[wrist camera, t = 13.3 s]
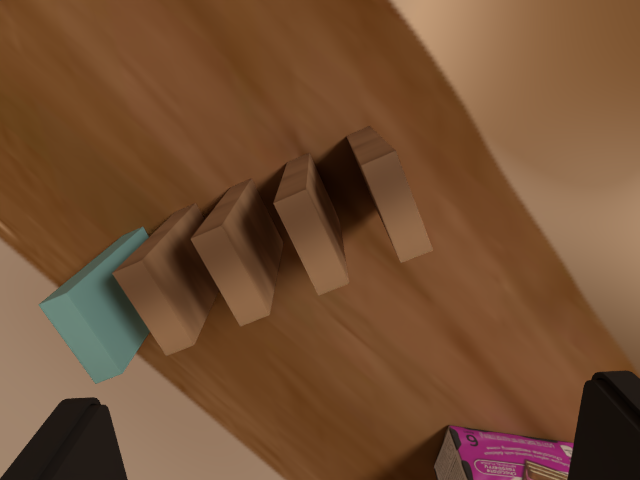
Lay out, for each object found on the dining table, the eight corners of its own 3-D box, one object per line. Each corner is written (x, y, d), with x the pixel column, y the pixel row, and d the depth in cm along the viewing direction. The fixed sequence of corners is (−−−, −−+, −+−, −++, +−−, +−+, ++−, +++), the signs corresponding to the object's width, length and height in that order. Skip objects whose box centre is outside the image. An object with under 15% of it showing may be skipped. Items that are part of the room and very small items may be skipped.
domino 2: (283, 243, 31) (269, 314, 22) (263, 251, 32) (240, 326, 22) (251, 178, 30) (221, 225, 20) (229, 187, 30) (190, 238, 21)
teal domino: (178, 287, 32) (122, 373, 23) (159, 295, 33) (95, 383, 23) (142, 226, 31) (66, 293, 21) (122, 235, 31) (38, 304, 22)
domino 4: (396, 195, 30) (433, 250, 21) (374, 205, 30) (400, 263, 21) (369, 125, 29) (395, 150, 19) (346, 136, 29) (361, 165, 19)
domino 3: (339, 219, 31) (349, 283, 21) (317, 228, 31) (318, 295, 22) (309, 152, 29) (306, 189, 20) (287, 162, 29) (273, 203, 20)
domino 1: (230, 265, 32) (194, 344, 22) (210, 273, 32) (166, 355, 23) (195, 203, 30) (141, 260, 21) (174, 212, 30) (112, 273, 21)
